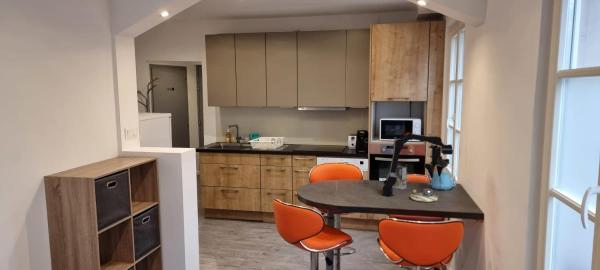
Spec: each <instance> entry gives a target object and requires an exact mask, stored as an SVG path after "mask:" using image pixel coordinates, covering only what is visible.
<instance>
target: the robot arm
mask: <svg viewBox="0 0 600 270" xmlns="http://www.w3.org/2000/svg"><path fill="white" fill-rule="evenodd" d="M410 140H413V141H414V140H415V141H419V142H426V143H429V144H430V145H429V146H428V148H429V149H431V155H430V157H429V158H431V161H429V163H427V162H426V163H425V164H424V166H423V167H424V168H423V169H426V171H427V172H428V175H429V174H430V176H429V177H430V179H431V178H433V174H434V173H435V170H436V172H438V176H441V173H442V171H444V169H445V168H447V167H448V166H449V165H450V159H449V158H445V159H443V155H453V153H454V150H453V145H452V144H444V143H443V139H442V138H441V137H440V136H437V135H428V136H427V135H422V134H415V133H410V132H407V133H405V134H404V135H402V136H401V137H399V138H395V139H394V140H393V154H392V157H391V163H390V168H389V172H388V173H387V175H386V177H385V180H384V181H382V184H383V186H382V193H381V194H380V195H381V196H383V197H392V196H394V194H393V192H394V191H393V189H394V188H392V186H393V185H394V184H395V183H396V182H397V177H398V176H397V175H396V168H397V166H398V163H399V158H400V154H401V151H402V149H403V147H404V145H405V144H406V143H407V142H408V141H410ZM441 154H442V155H441Z"/></svg>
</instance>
